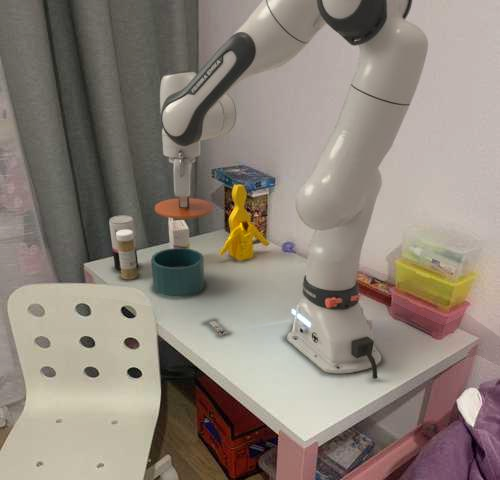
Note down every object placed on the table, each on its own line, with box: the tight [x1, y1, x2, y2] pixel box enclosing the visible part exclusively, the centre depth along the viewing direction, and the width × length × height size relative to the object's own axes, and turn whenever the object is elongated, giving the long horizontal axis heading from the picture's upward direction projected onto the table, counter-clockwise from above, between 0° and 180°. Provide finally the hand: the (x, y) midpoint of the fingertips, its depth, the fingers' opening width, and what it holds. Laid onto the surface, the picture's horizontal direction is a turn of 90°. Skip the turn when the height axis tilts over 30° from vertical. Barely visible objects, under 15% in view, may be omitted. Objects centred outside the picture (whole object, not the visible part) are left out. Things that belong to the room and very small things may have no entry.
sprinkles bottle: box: [116, 229, 138, 281], centre depth 135 cm, size 5×5×14 cm
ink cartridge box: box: [168, 217, 191, 249], centre depth 144 cm, size 9×5×15 cm, turn 17°
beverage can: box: [108, 214, 139, 273], centre depth 139 cm, size 6×7×15 cm
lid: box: [154, 196, 214, 220], centre depth 122 cm, size 15×15×5 cm
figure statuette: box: [218, 183, 271, 261], centre depth 146 cm, size 18×8×22 cm, turn 121°
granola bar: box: [209, 320, 229, 337], centre depth 115 cm, size 7×2×1 cm, turn 34°
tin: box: [150, 248, 205, 298], centre depth 131 cm, size 14×14×8 cm
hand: (184, 203), depth 122 cm, fingers closed on lid, 2 cm apart
